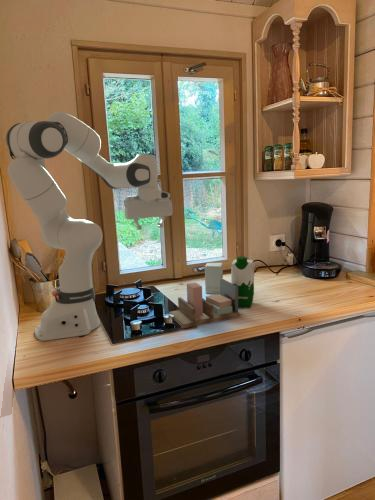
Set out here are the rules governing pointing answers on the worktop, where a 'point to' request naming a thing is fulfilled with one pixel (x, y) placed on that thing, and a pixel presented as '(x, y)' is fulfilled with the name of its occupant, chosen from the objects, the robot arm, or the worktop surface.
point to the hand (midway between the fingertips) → (150, 228)
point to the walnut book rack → (188, 319)
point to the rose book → (195, 298)
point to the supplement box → (213, 277)
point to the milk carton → (243, 280)
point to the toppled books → (220, 304)
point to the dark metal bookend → (230, 293)
